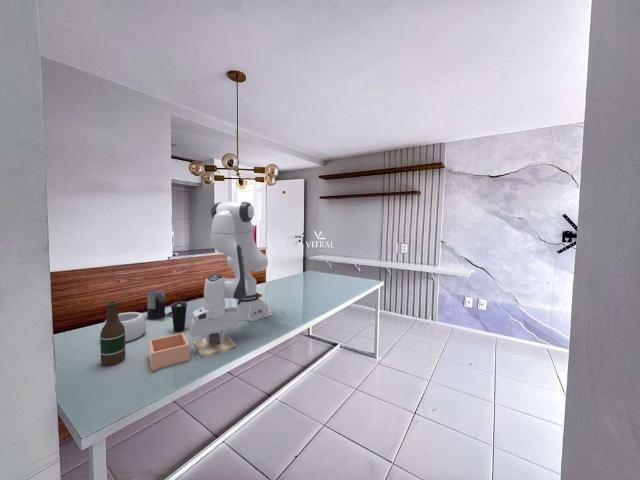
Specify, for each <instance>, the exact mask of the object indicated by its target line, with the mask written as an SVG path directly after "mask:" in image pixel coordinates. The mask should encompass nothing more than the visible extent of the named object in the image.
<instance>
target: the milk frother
mask: <svg viewBox="0 0 640 480" xmlns="http://www.w3.org/2000/svg"><path fill="white" fill-rule="evenodd" d="M145 294H146V302H147V304H146V306H147V307H146V308H147V317H146V320H160V319H163V318H164V317H166V316H167V315H169V316H170V315H172V311H169V312H168V313H166V300H165V299H166V296H165V294H166V291H165V290H164V289H163V290H162V289H158V290H149V291H147V292H146V293H145Z"/></svg>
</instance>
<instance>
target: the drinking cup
mask: <svg viewBox="0 0 640 480" xmlns="http://www.w3.org/2000/svg"><path fill="white" fill-rule="evenodd" d="M177 295H178V296H177V300H178V301H175V302H173V303H171V304H170V308H171V312H172V314H171V318H172V325H173V328H172V329H173V331H175V333H180V331H181V332H183V331H185V328H186V327H185V326H186V319H187V307H188V302H186V301H180V300H181V292H180V291H178V293H177Z"/></svg>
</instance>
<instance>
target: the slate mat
mask: <svg viewBox="0 0 640 480" xmlns="http://www.w3.org/2000/svg"><path fill="white" fill-rule="evenodd" d="M230 339H231V340H232V341H233V339H232V338H231V337H230ZM233 342H234V341H233ZM189 345H190V346H191V348H192V350H193V352H194V354H195V356H196V359H197V360H198V361H200V360H204V359H208V358H211V357H212V358H213V357H214V356H218V355H221V354H225V353H229V352H233V351H236V350H240V347H239V346H238V345H237V344H236V346H237V348H236V349H232V350H229V351H225V352H221V353H218V354H214V355H210V356H207V357H203V358H200V356H199V354H198V352H197V350H196V348H195V347H194V345H193V342H189Z"/></svg>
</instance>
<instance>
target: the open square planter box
mask: <svg viewBox="0 0 640 480" xmlns="http://www.w3.org/2000/svg"><path fill="white" fill-rule="evenodd" d="M148 359H149V367H150V371H151V373H152V372H155V371H158V370H159V369H161V368H165V367H166V368H167V367H169V366H172V365H173V366H174V365H176V364H181V363H185V362H188V361H190V342H189V340H188V339H187V337H186V335H185V332H182V333H177V334H172V335H168V336H163V337H158V338H154V339H148Z"/></svg>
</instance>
